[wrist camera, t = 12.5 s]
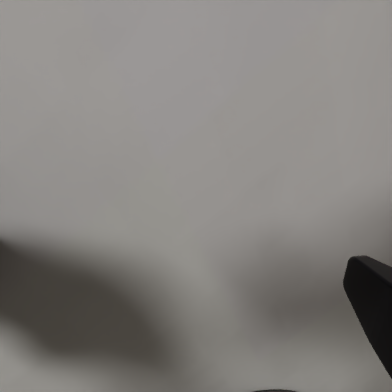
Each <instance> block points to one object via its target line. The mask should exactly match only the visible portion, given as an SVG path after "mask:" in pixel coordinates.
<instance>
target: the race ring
mask: <svg viewBox="0 0 392 392" xmlns="http://www.w3.org/2000/svg"><path fill="white" fill-rule="evenodd" d="M256 392H295V391H288V390H264V391H256Z"/></svg>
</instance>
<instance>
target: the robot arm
mask: <svg viewBox="0 0 392 392" xmlns="http://www.w3.org/2000/svg"><path fill="white" fill-rule="evenodd" d="M343 286H344V290H345V292H346V294H347V296H348V298H349V300H350V302H351V305H352V307H353V309H354V311H355V313H356V315H357V317H358V319H359V321H360V324H361V326H362V328H363V330H364V332H365V334H366V336H367V338H368V340H369V342H370V343H371V345H372V347H373V349H374V350H375V352H376V354H377V355H378V357H379V359H380V360H381V362H382V364H383V365H384V367H385V369H386V370H387V372H388V374H389V375H390V377H391V379H392V267H390V266H388V265H386V264H383V263H381V262H379V261H377V260H375V259H373V258H370V257H368V256H353V257H351V258H350V259H349V260H348V264H347V268H346V272H345V276H344V280H343Z"/></svg>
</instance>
